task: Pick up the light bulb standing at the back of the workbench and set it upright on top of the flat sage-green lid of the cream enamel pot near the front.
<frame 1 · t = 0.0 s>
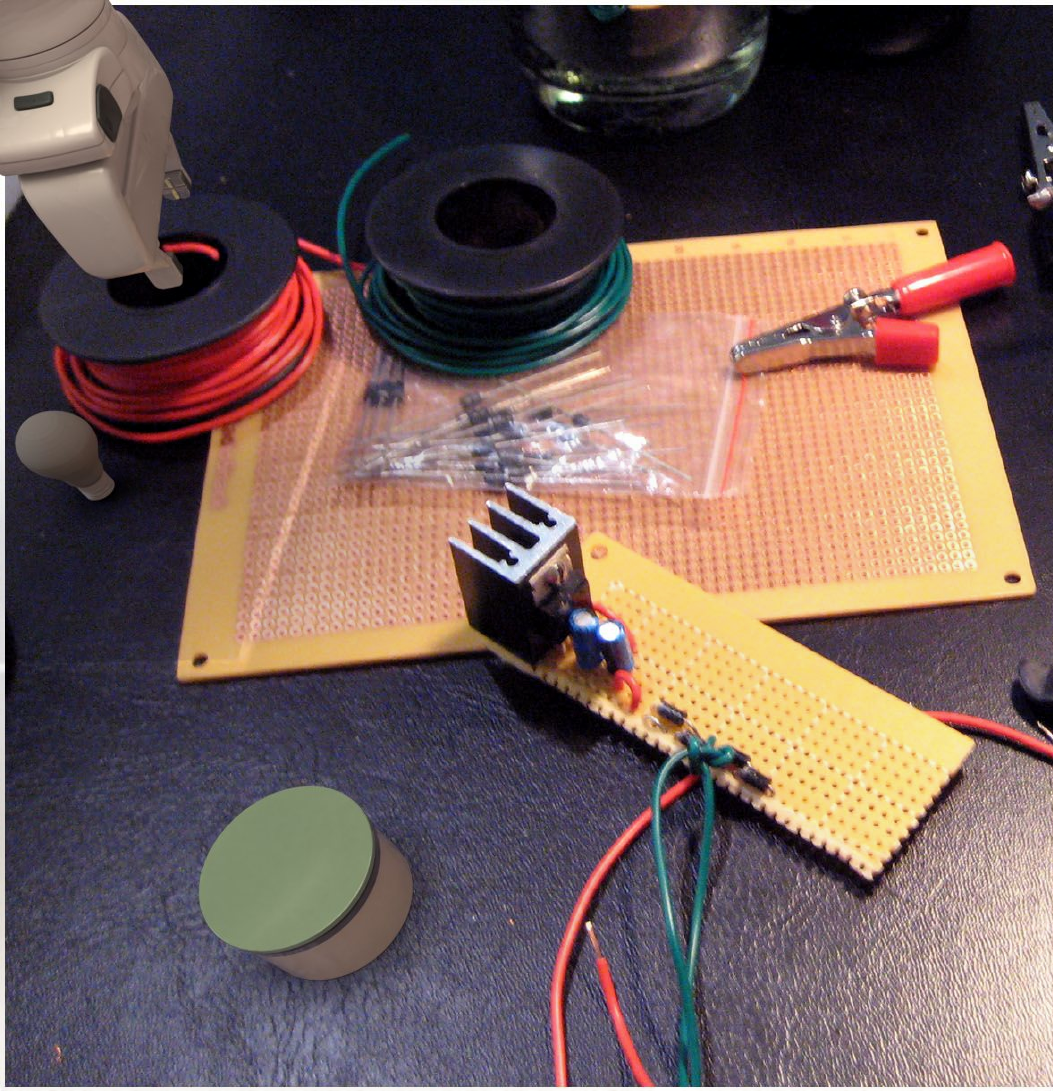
hand: (176, 235, 85), 31 cm above the table, tool pointing down, fingers open, 8 cm apart
light bulb: (104, 493, 112), on the table
pot: (338, 904, 90), on the table
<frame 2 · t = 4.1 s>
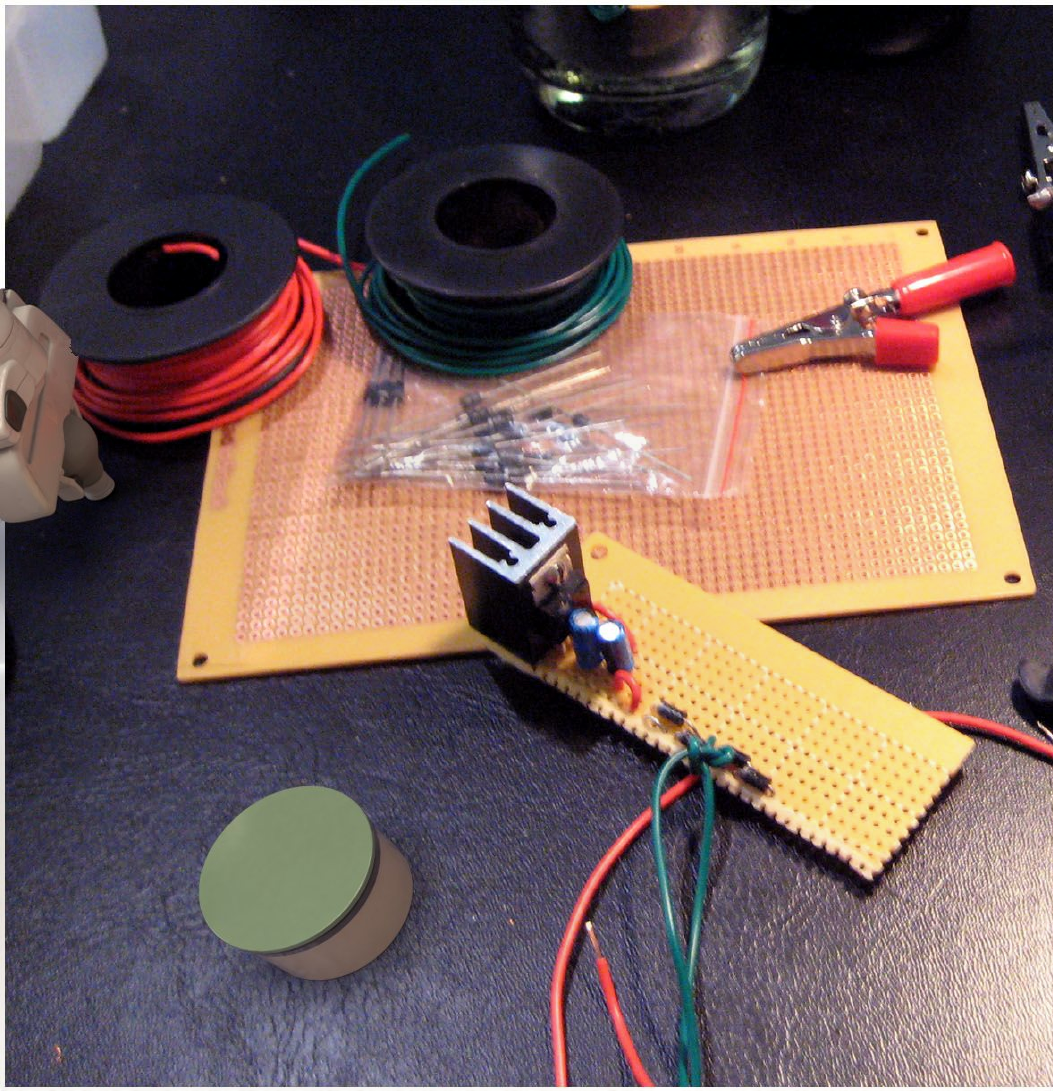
hand: (80, 467, 109), 4 cm above the table, tool pointing down, fingers closed on light bulb, 5 cm apart
light bulb: (104, 492, 112), on the table, touching gripper
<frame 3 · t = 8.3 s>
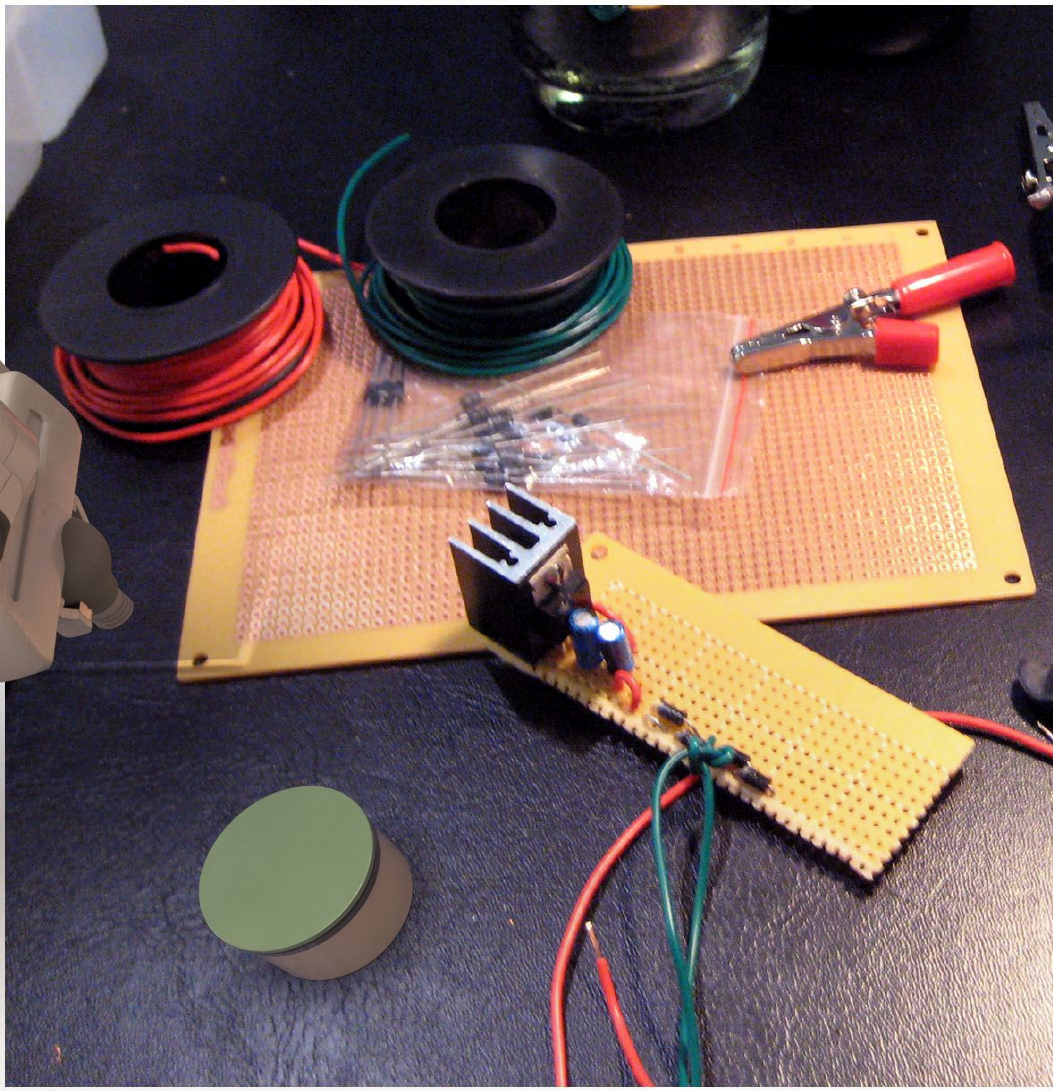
hand: (86, 588, 80), 21 cm above the table, tool pointing down, fingers closed on light bulb, 5 cm apart
light bulb: (119, 617, 83), point 18 cm above the table, touching gripper
when the fingers open (12 cm above the table, at t = 12.3 s): light bulb stays where it is, resting on pot.
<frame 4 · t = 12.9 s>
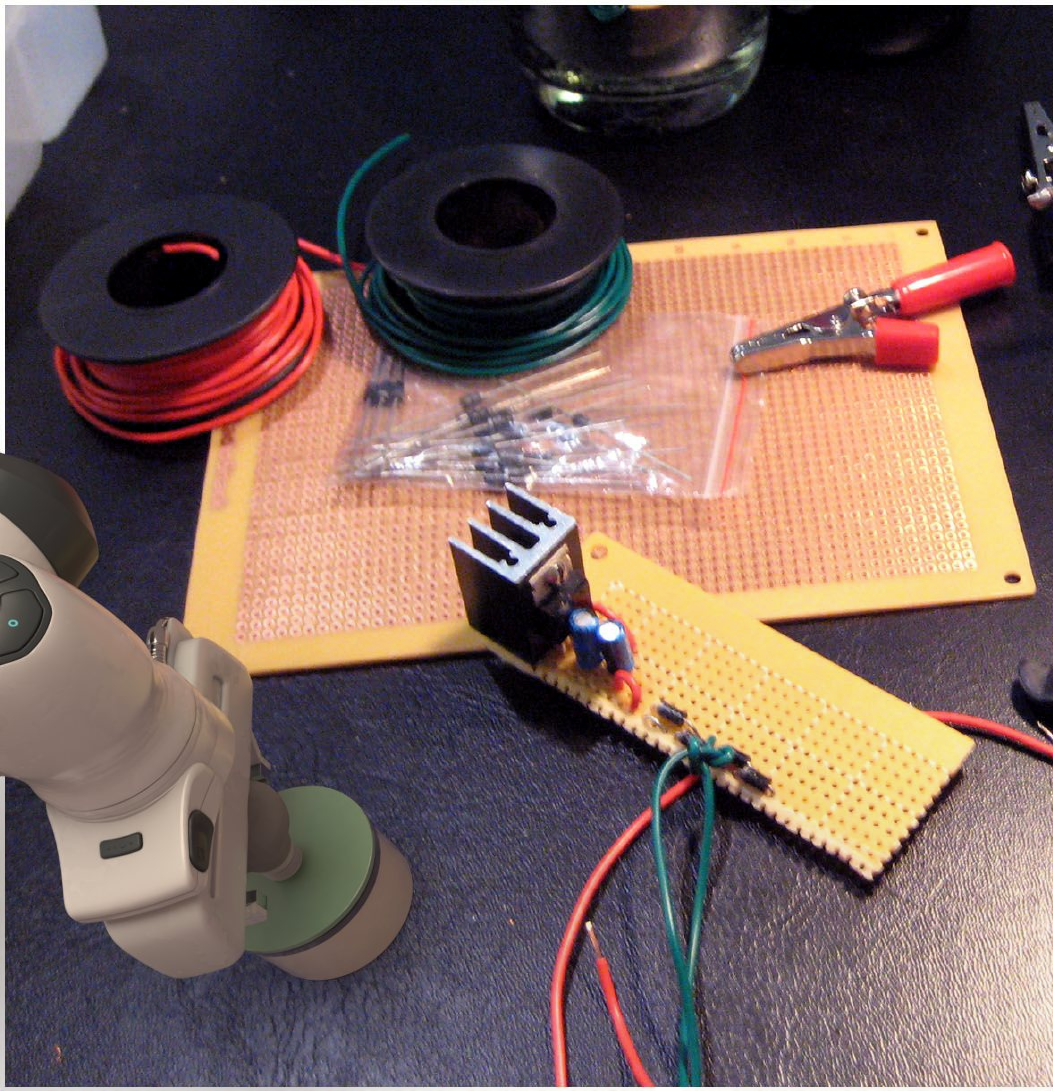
hand: (257, 843, 79), 13 cm above the table, tool pointing down, fingers open, 8 cm apart
light bulb: (287, 865, 83), point 8 cm above the table, touching pot
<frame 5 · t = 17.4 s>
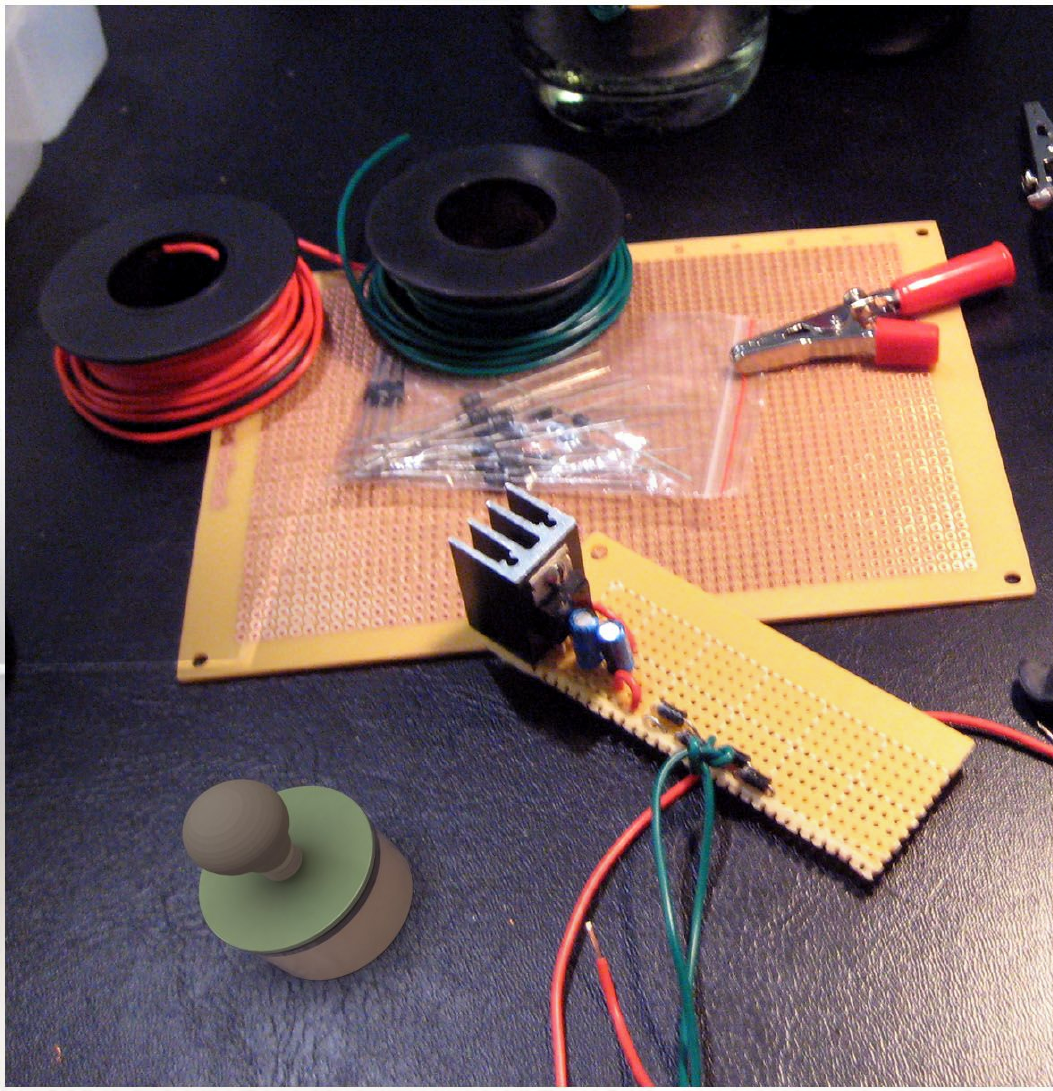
nothing on the table moved.
at the end: light bulb 0.0 cm off-centre on the pot, point 8.4 cm above the pot's base; light bulb tilted 0° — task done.
